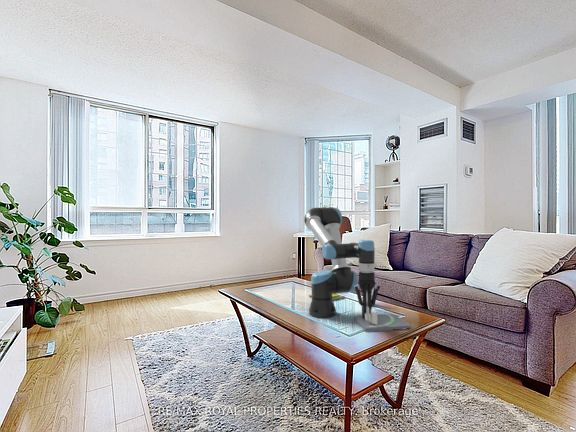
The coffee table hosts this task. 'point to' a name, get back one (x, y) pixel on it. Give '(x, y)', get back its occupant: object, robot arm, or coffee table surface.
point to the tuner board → (381, 323)
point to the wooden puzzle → (334, 296)
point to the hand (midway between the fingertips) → (367, 319)
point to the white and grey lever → (371, 316)
